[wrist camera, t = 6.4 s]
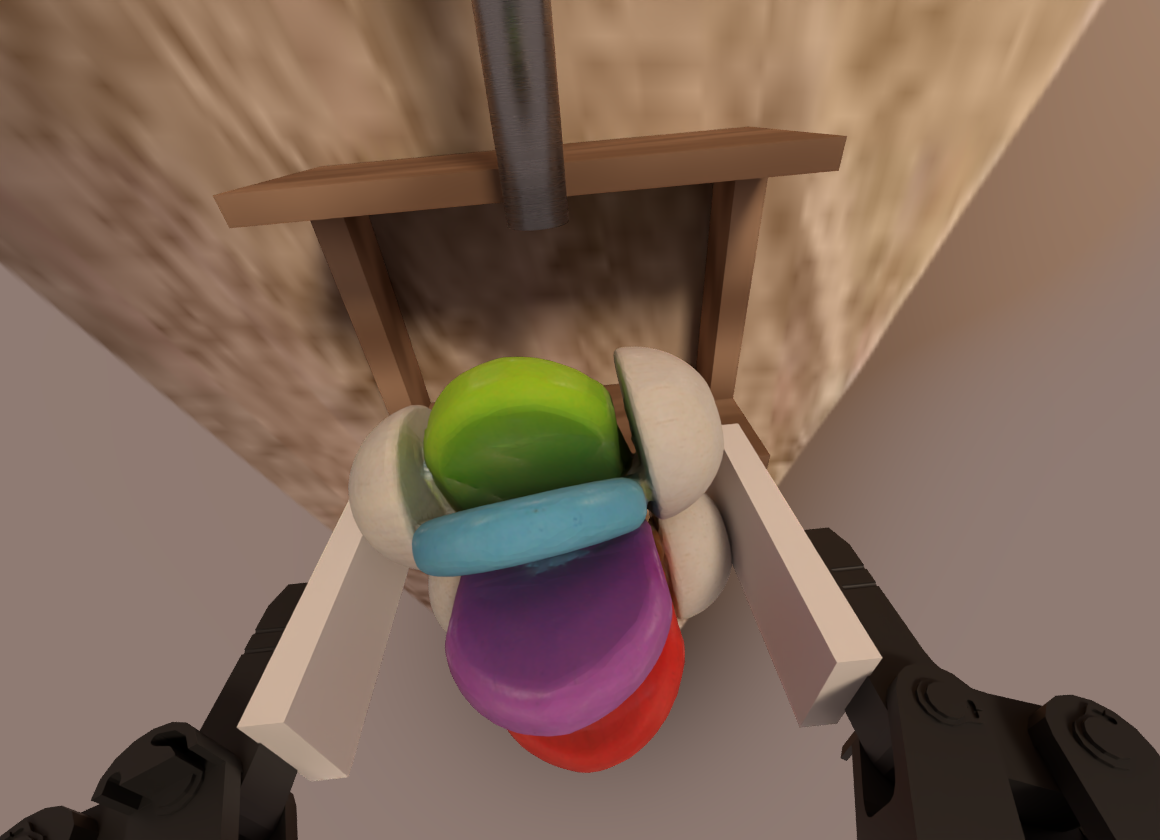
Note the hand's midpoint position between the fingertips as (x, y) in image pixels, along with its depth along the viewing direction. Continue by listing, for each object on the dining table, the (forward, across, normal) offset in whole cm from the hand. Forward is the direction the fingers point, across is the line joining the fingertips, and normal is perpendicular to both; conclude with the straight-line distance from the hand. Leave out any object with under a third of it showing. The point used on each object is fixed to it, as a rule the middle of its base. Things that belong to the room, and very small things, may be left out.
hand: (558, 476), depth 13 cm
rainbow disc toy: (0, 0, 0) cm, 1 cm away
